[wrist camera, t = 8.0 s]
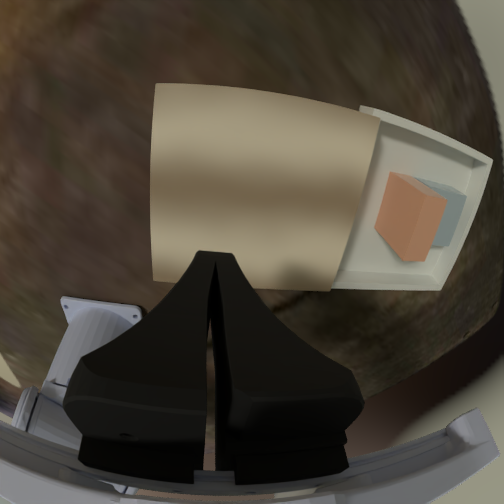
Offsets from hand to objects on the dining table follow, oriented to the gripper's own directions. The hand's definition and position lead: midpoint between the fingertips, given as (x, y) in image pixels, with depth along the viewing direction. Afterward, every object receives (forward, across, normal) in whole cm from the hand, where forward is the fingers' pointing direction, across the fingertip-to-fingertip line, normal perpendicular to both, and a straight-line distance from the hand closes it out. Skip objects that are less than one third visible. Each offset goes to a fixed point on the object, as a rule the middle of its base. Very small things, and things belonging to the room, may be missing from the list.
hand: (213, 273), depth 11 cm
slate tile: (+6, -16, -2) cm, 17 cm away
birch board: (+9, -2, -1) cm, 9 cm away
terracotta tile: (+6, -12, -1) cm, 13 cm away
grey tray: (+9, -14, -1) cm, 17 cm away
